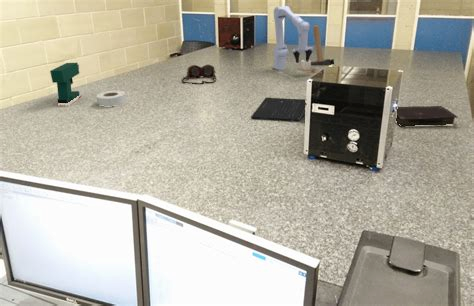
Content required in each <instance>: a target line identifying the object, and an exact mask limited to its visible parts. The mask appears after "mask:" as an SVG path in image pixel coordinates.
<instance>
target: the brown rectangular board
mask: <svg viewBox="0 0 474 306" xmlns="http://www.w3.org/2000/svg"><path fill="white" fill-rule="evenodd" d="M296 70H297V71H300V72H303V73H306V74H309V75H311V74H317V72H319V71H321V70H319V69H317V68H316V66H311V67H310V69H308V70H303V69H301V67H300V68H296ZM319 73H320V72H319Z"/></svg>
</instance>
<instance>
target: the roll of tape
mask: <svg viewBox="0 0 474 306" xmlns="http://www.w3.org/2000/svg"><path fill="white" fill-rule="evenodd" d="M96 101H97V105H98V104H99V105H104V106H113V105H120V104H123V103H125V102H126V103H127V97H126V92H125V91H122V90H109V91H108V90H107V91H104V92H100V93H98V94H97V95H96ZM126 103H125V104H126Z"/></svg>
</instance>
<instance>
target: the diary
mask: <svg viewBox="0 0 474 306" xmlns="http://www.w3.org/2000/svg"><path fill="white" fill-rule="evenodd" d="M397 107H398V109H397V118H396V121H397V124H396V125H397V126H398V127H400V128H406V127H405V126H415V125H446V124H454V122H455V118H456V119H457V118H459V116H457V114H454V113H453V112H452V111H450V110H449V109H447V108H445V107H444V106H443V105H431V106H430V105H429V106H426V105H425V106H422V105H419V106H417V105H416V106H415V105H414V106H413V105H412V106H397ZM399 124H400V125H401V126H400V125H399Z"/></svg>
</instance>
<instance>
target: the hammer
mask: <svg viewBox="0 0 474 306" xmlns="http://www.w3.org/2000/svg"><path fill="white" fill-rule="evenodd" d="M312 30H313V36H314V37H313V38H314V44H315V52H316V59H317V60H315V61H311V66H328V65H330V66H332V65H335V59H334V58H332V59H329V58H327V59H325V58H324V56H323V50H322V49H323V48H322V43H321V42H322V41H321V33H320V27H319V25H313V26H312ZM328 67H329V66H328Z"/></svg>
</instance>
